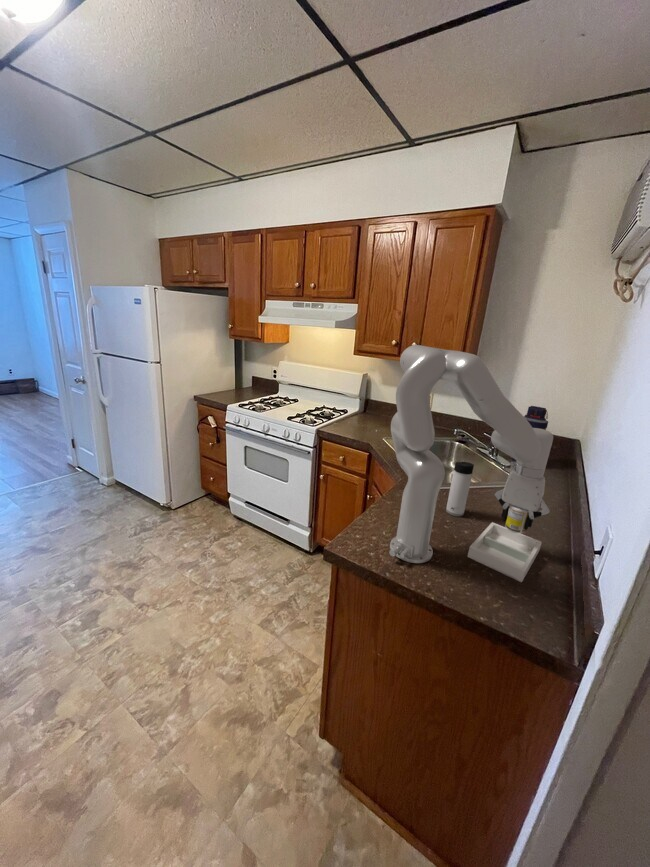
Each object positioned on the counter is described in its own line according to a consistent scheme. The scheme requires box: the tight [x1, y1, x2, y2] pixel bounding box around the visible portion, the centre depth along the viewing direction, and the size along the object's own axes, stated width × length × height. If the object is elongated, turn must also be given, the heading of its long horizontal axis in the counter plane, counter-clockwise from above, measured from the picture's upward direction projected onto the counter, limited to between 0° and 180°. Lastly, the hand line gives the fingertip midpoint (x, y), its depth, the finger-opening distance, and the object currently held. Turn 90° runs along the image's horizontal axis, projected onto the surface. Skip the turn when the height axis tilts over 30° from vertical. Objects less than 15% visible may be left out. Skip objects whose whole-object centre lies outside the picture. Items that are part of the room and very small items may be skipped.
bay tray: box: [467, 521, 542, 583], centre depth 109 cm, size 20×15×4 cm
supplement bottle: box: [504, 504, 529, 534], centre depth 109 cm, size 6×6×10 cm
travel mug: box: [445, 461, 475, 517], centre depth 129 cm, size 6×7×20 cm
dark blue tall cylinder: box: [510, 405, 549, 462], centre depth 181 cm, size 14×12×30 cm
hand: (515, 523), depth 110 cm, fingers closed on supplement bottle, 5 cm apart
